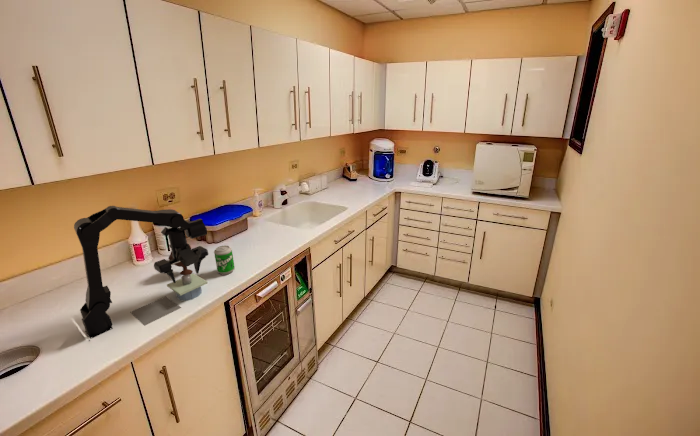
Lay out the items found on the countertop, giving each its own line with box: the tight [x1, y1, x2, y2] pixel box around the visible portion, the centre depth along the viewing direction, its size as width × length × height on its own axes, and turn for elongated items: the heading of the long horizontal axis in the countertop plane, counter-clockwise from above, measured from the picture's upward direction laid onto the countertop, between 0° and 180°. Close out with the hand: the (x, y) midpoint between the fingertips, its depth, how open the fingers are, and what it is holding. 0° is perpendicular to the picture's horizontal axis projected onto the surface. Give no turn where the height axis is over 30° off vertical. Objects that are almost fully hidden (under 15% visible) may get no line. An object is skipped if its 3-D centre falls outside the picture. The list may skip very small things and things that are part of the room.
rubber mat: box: [129, 295, 182, 326], centre depth 122 cm, size 13×13×1 cm
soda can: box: [213, 244, 235, 276], centre depth 147 cm, size 8×8×12 cm
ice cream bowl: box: [167, 244, 193, 276], centre depth 146 cm, size 11×11×15 cm
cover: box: [166, 272, 208, 296], centre depth 129 cm, size 11×11×4 cm
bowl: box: [175, 286, 202, 302], centre depth 131 cm, size 9×9×5 cm
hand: (186, 277), depth 129 cm, fingers open, 9 cm apart
